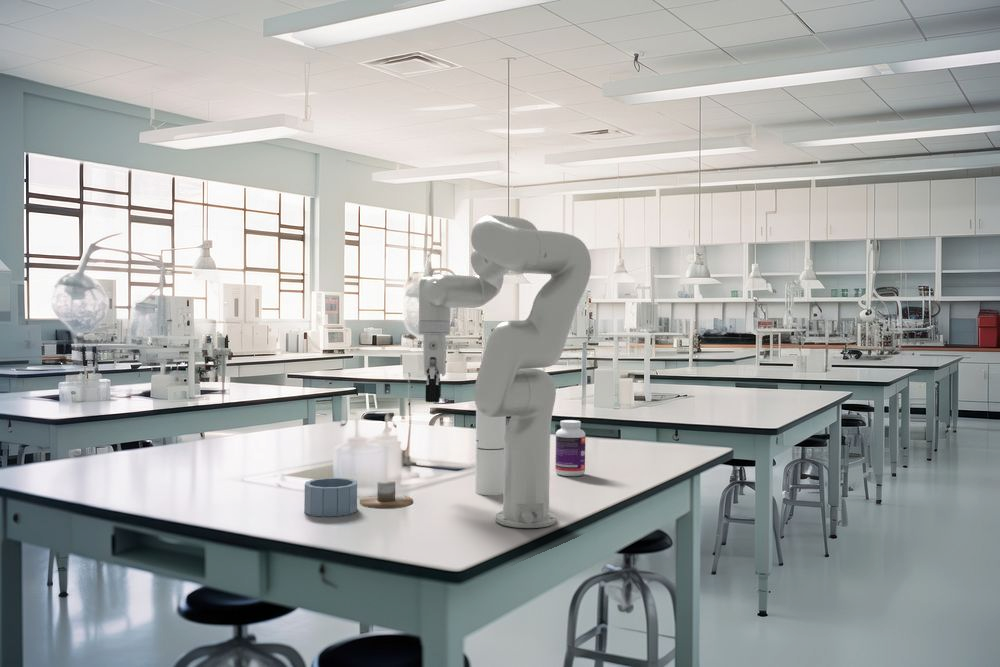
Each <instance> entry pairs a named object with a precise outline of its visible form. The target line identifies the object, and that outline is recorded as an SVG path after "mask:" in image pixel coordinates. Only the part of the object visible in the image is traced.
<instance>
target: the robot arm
mask: <svg viewBox="0 0 1000 667" xmlns="http://www.w3.org/2000/svg"><path fill="white" fill-rule="evenodd" d="M470 236H471V237H470V241H471V242H470V243H471V245H472V248H473V250H472V252H471V254H470V263H471V267H472V269H473V270H474V272H475V274H476V275H473V276H472V275H459V274H457V275H456V274H455V275H453V274H441V275H437V276H425V277H422V278H421V279H420V280H419V286H418V289H419V290H418V295H419V296H418V335H423V345H422V348H423V350H422V351H423V356H422V357H423V358H422V359H423V372H424V376H426V384H425V399H424V400H425V402H426V403H439V402H440V399H441V396H442V395H441V394H442V382H441V377H444V376H446V373H447V368H446V366H447V361H446V360H447V342H446V340H447V339H446V338H447V337H446V336H450V335H451V308H453V309H456V308H457V309H458V308H459V309H460V308H463V309H464V308H465V309H475V308H480V307H482V306H484V305H486V304H488V303H489V302H490V301H491V300H493V299H494V298H495V297H497V296H498V295H499V293H500V292H501V290H502V287H503V283H504V275H506V274H507V273H509V272H510V271H512V272H515V273H520V274H521V273H522V274H533V275H534V274H536V275H550V278H549V280H547V281H546V283H544V284H543V286H542V287H540V289H539V291H538V292H537V293H536V295H535V298H534V300H533V302H532V306H531V310H530V311H529V312H530V313H529V315H528V317H527V318H526V319H524V320H505V321H503V322H501V323H499V324H498V325H496V326H495V327H494V328H493V330H492V331H491V333H490V335H489V337H488V339H487V343H486V344H485V348H484V351H483V356H482V359H481V362H480V366H479V370H478V372H477V376H476V380H475V383H474V389H473V391H474V392H473V399H474V403H475V404H474V405H475V408H476V407H477V408H478V410H479V411H480V412H481V413H482V414H483V415H485V416H488V417H506V418H507V417H510V418H509V421H508V422H507V424H506V431H505V435H504V476H503V494H502V498H503V499H502V510H501V511H499V512H497V513H496V514H495V516H494V517H495V519H494V520H495V522H496V523H497V524H500V525H501V526H504V527H505V526H506V527H511V528H517V529H518V528H519V529H538V528H540V529H541V528H545V527H550V526H552V525H554V524H556V523H557V515H556V514H554V513H553V512H550V473H551V472H550V469H551V468H550V465H551V464H550V462H551V429H552V428H551V425H552V418H553V417H552V416H553V412H554V407H555V402H556V397H557V396H556V395H557V393H556V391H557V389H556V384H555V381H554V378H552V376H551V375H550V374H549V373H548V372H546V371H545V370H542V368H543V369H544V368H549V367H554V365H556V364H557V363H558V362H559V360H560V359H561V356H562V354H563V351H564V349H565V345H566V342H567V339H568V336H569V333H570V330H571V326H572V324H573V320H574V318H575V314H576V311H577V308H578V306H579V303H580V301H581V298H582V297H583V295H584V293H585V290H586V288H587V286H588V284H589V280H590V277H591V272H592V260H591V255H590V251H589V249H588V247H587V246H586V244H585V243H584V241H583V240H581V239H580V238H578V237H577V236H575V235H573V234H569V233H564V232H559V231H550V230H549V231H548V230H538V227H536V225H534V224H533V223H532V222H531V221H529V220H527V219H525V218H523V217H522V218H521V217H516V216H515V217H514V216H504V215H496V214H489V215H485V216H483V217H481V218H479V220H478V221H477V222H476V223H475V224H474V226H473V227H472V231H471V235H470ZM539 368H541V369H539Z"/></svg>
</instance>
